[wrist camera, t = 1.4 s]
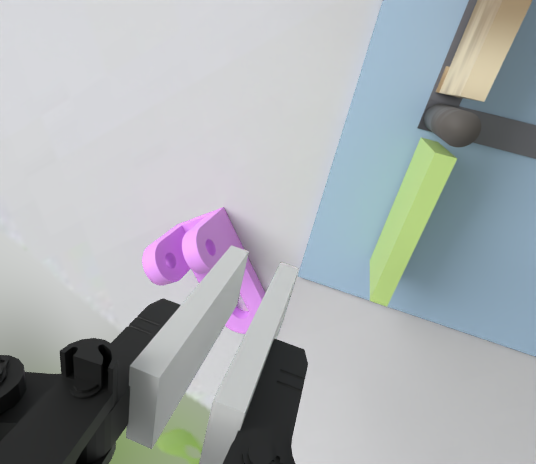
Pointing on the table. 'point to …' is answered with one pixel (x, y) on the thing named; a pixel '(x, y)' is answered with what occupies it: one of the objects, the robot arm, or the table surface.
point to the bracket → (202, 259)
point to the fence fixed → (475, 67)
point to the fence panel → (408, 217)
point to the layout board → (455, 190)
